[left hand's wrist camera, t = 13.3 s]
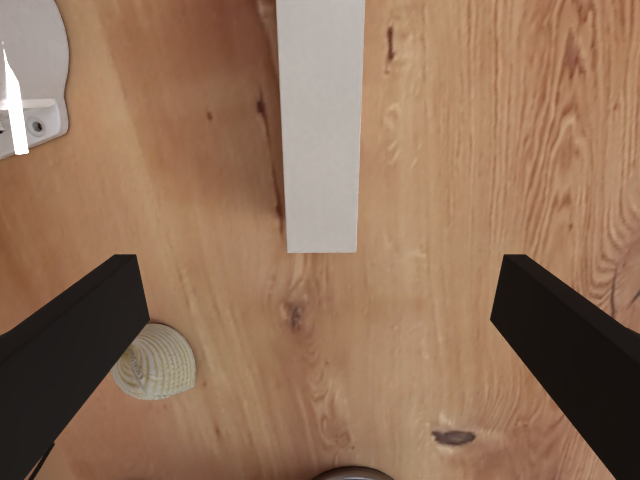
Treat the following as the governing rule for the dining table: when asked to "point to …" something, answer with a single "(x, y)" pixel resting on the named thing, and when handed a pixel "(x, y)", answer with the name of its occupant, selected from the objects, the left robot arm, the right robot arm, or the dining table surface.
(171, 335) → the seashell
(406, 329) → the dining table surface
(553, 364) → the left robot arm
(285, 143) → the bar
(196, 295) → the dining table surface
